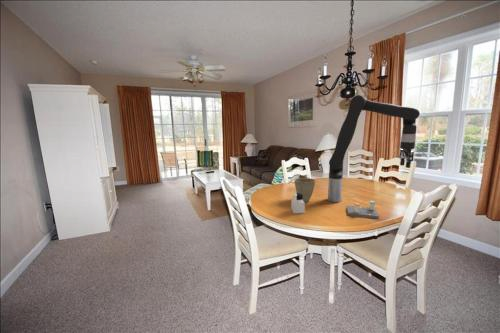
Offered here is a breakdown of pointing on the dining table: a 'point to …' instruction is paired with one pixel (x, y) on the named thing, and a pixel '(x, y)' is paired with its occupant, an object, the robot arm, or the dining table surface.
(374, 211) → the console
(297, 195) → the medicine bottle
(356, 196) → the dining table surface
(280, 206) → the dining table surface
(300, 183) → the plant pot
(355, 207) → the fader
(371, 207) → the block
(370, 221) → the dining table surface
